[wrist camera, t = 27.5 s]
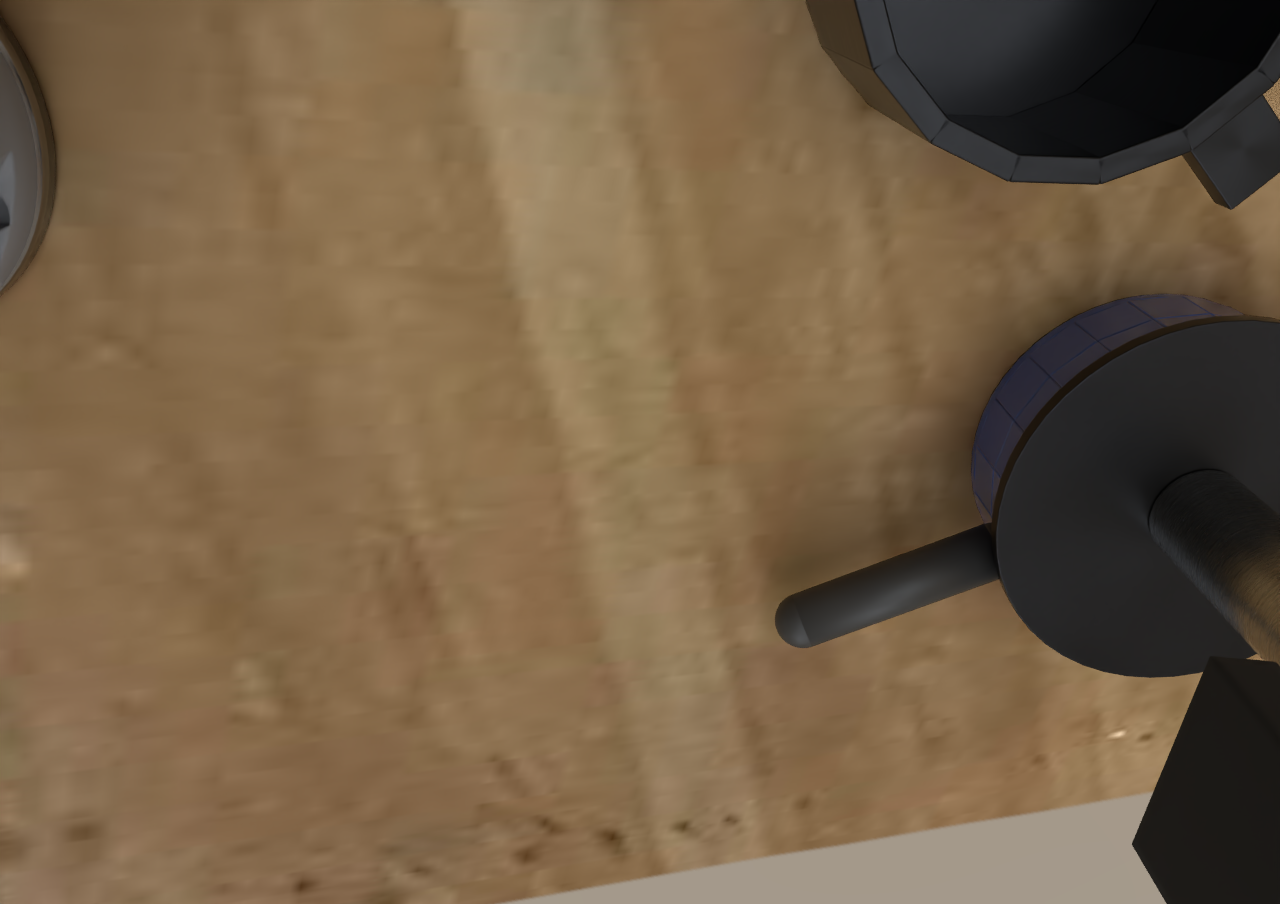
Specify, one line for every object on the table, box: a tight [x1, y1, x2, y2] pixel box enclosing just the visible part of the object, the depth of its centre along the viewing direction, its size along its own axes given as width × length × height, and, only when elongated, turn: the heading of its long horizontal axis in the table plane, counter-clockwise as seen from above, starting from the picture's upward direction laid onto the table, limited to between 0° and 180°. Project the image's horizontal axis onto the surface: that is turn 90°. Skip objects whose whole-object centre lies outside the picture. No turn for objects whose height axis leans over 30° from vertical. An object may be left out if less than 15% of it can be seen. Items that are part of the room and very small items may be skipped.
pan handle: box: [775, 523, 999, 648], centre depth 43 cm, size 10×2×2 cm, turn 113°
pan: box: [971, 294, 1244, 524], centre depth 43 cm, size 13×13×5 cm
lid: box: [991, 315, 1280, 678], centre depth 36 cm, size 15×15×11 cm
